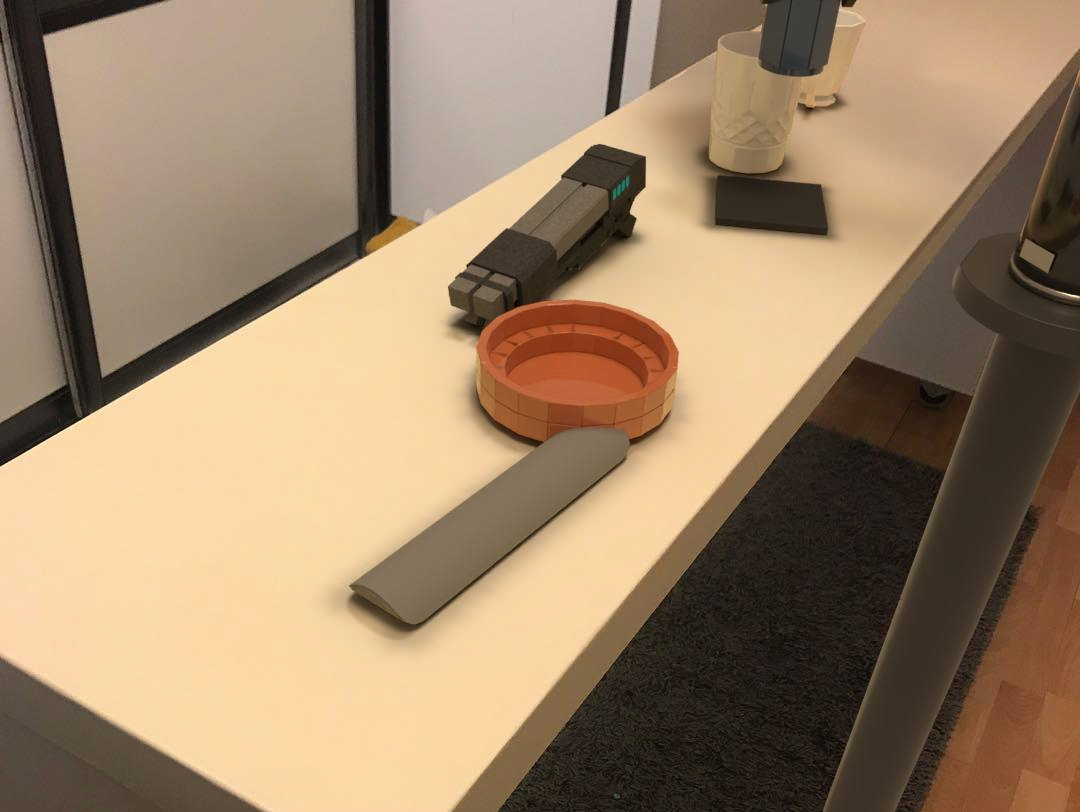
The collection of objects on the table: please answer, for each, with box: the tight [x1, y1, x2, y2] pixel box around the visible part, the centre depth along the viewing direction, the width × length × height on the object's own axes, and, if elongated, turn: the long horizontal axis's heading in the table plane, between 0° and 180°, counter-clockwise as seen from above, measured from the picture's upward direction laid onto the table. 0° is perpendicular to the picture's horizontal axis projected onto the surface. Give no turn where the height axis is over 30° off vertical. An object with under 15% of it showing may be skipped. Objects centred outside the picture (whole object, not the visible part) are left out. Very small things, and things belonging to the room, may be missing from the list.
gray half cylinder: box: [348, 427, 631, 625], centre depth 57 cm, size 4×20×2 cm, turn 142°
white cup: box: [708, 30, 804, 174], centre depth 94 cm, size 8×8×10 cm
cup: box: [798, 8, 867, 109], centre depth 107 cm, size 7×10×8 cm
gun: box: [447, 143, 647, 329], centre depth 78 cm, size 4×20×10 cm, turn 147°
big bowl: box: [475, 299, 680, 443], centre depth 66 cm, size 12×12×4 cm
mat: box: [715, 174, 829, 236], centre depth 90 cm, size 9×9×1 cm
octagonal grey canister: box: [758, 0, 841, 77], centre depth 79 cm, size 5×5×8 cm
